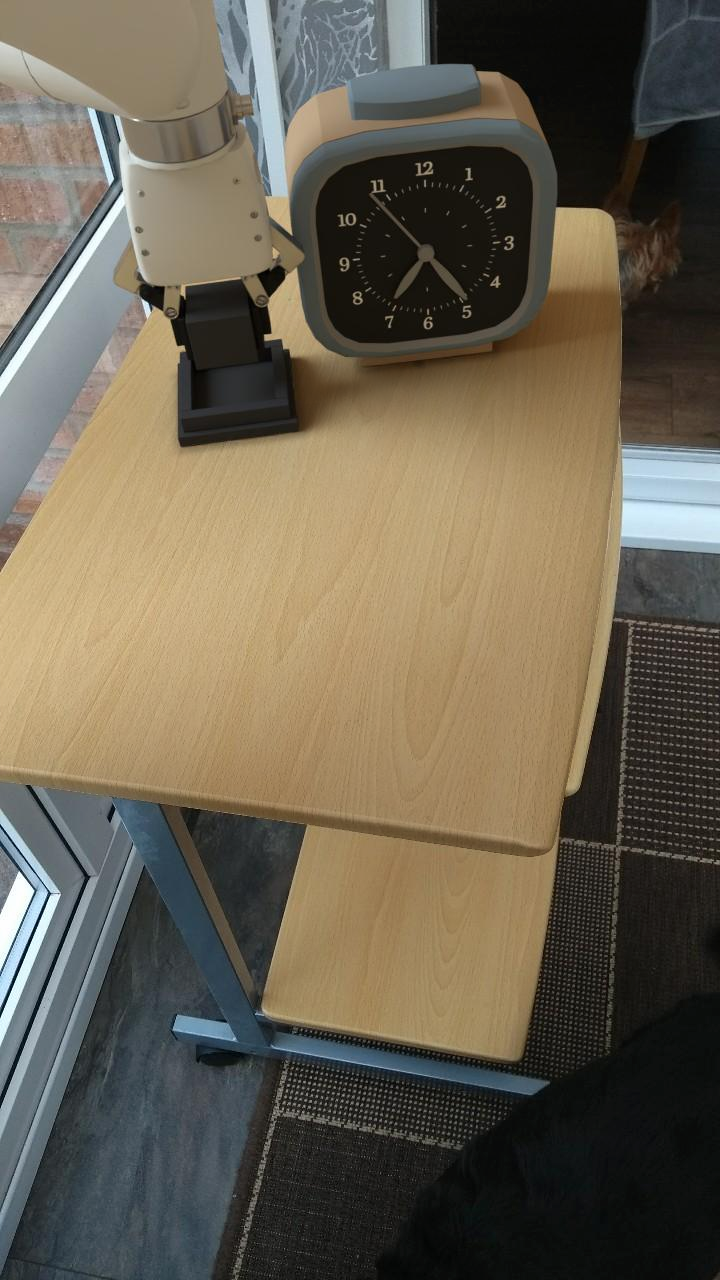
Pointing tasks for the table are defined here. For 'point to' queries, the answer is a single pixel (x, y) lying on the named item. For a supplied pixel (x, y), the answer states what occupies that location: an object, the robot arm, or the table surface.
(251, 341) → the black cube
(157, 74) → the robot arm
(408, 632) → the table surface
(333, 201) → the alarm clock
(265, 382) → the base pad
